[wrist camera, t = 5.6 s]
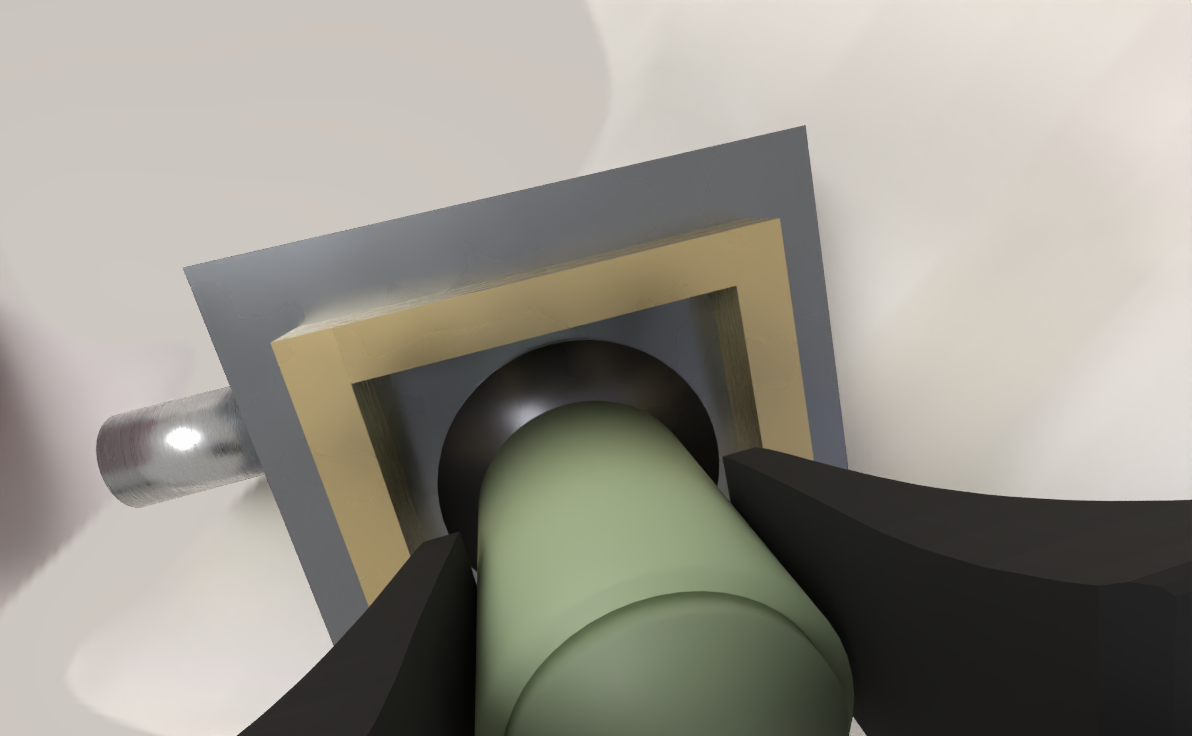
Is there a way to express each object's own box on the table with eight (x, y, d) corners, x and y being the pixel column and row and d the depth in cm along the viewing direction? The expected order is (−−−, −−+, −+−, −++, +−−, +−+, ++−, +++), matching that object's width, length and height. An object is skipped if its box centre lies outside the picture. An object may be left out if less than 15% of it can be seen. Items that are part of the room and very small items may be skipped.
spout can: (669, 372, 13) (937, 614, 5) (714, 562, 14) (979, 971, 7) (447, 440, 12) (391, 813, 5) (515, 630, 14) (555, 1152, 6)
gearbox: (745, 142, 15) (847, 112, 11) (808, 562, 18) (906, 667, 14) (105, 289, 14) (-70, 322, 9) (294, 722, 17) (227, 895, 13)
